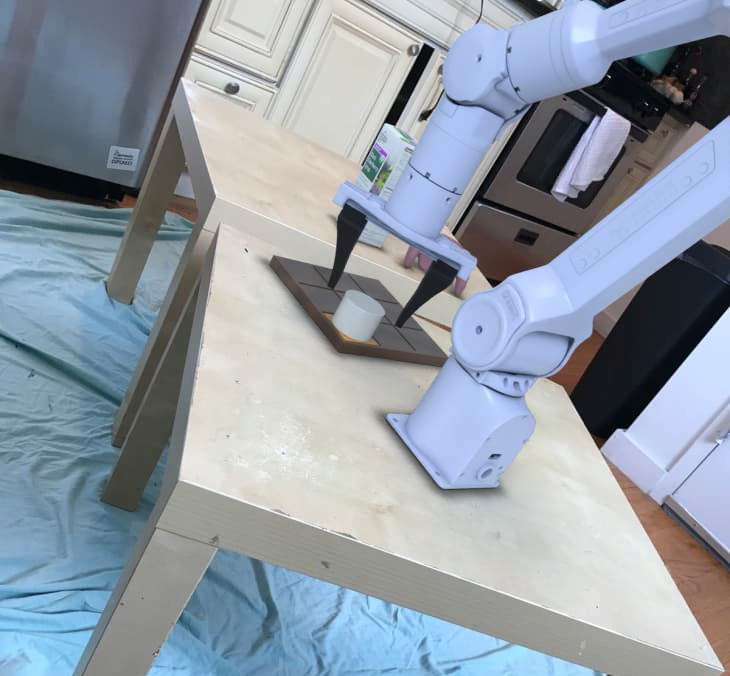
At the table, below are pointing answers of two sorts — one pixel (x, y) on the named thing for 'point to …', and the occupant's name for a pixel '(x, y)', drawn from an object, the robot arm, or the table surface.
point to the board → (323, 301)
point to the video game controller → (426, 262)
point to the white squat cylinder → (358, 316)
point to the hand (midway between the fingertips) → (365, 304)
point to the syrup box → (384, 173)
